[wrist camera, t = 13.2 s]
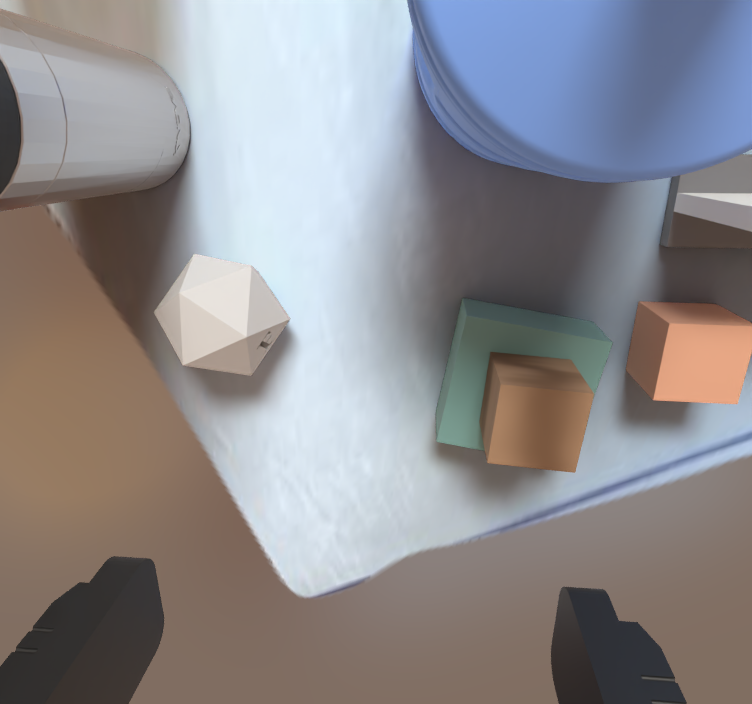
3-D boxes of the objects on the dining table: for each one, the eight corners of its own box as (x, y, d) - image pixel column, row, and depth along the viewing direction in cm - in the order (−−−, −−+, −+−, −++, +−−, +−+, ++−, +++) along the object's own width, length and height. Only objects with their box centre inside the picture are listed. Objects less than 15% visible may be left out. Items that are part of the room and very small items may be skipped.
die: (219, 363, 46) (261, 413, 38) (124, 313, 40) (151, 360, 33) (274, 283, 46) (327, 317, 38) (186, 222, 40) (228, 248, 33)
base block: (435, 411, 45) (436, 441, 40) (462, 296, 41) (466, 315, 37) (554, 433, 45) (569, 467, 40) (591, 320, 41) (612, 342, 36)
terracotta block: (625, 369, 42) (653, 400, 37) (638, 301, 40) (669, 323, 35) (698, 372, 42) (737, 404, 36) (715, 303, 40) (758, 326, 35)
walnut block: (479, 421, 39) (487, 463, 34) (490, 351, 37) (500, 384, 32) (555, 429, 39) (574, 472, 34) (571, 359, 37) (594, 393, 32)
